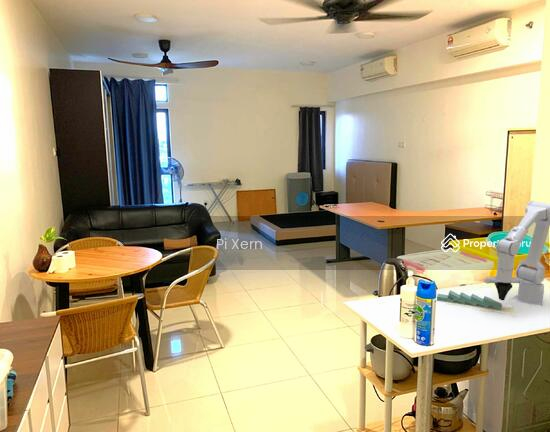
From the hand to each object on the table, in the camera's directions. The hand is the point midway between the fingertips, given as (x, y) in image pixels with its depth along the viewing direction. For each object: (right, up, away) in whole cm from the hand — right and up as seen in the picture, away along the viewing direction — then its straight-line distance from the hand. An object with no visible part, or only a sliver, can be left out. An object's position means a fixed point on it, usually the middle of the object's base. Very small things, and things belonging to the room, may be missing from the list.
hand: (501, 299), depth 174 cm
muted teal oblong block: (-12, -2, +6) cm, 14 cm away
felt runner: (-7, -4, +4) cm, 9 cm away
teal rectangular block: (-8, -3, +4) cm, 10 cm away
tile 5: (-16, -2, +8) cm, 18 cm away
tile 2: (-4, -3, +3) cm, 6 cm away
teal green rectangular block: (0, -3, +1) cm, 3 cm away
